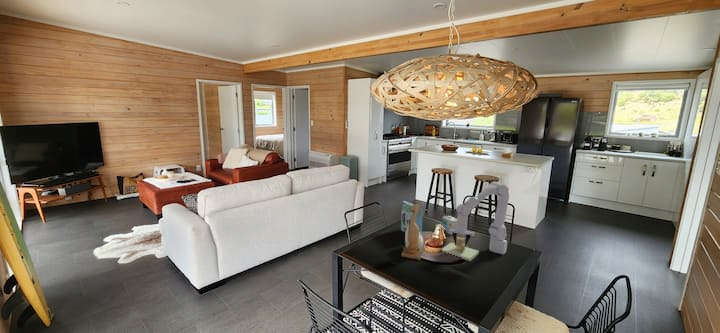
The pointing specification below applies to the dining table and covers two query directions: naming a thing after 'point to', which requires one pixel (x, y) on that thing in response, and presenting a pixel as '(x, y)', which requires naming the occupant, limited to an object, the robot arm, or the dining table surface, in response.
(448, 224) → the light bulb box
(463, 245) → the maple block
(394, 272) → the dining table surface
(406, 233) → the figurine
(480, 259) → the dining table surface
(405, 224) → the gum box
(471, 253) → the green tile
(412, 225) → the bird sculpture
